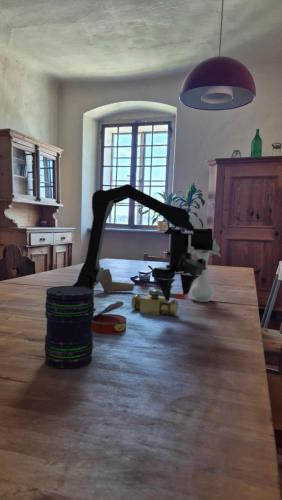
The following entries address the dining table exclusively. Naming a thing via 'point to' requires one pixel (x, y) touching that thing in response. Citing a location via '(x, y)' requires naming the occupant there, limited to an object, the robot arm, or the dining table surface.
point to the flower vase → (203, 275)
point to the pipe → (114, 283)
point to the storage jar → (69, 327)
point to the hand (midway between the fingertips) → (176, 298)
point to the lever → (172, 294)
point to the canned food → (109, 321)
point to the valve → (154, 305)
